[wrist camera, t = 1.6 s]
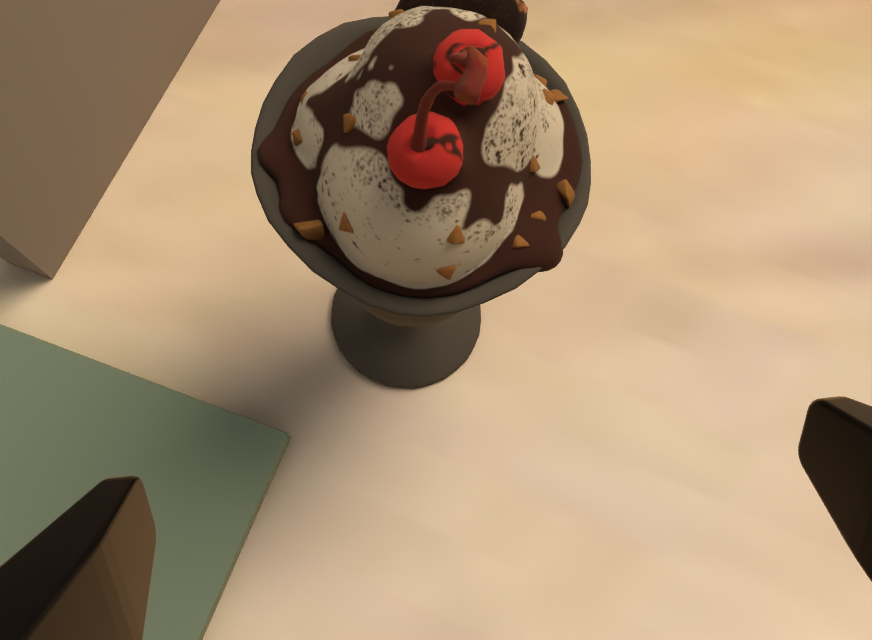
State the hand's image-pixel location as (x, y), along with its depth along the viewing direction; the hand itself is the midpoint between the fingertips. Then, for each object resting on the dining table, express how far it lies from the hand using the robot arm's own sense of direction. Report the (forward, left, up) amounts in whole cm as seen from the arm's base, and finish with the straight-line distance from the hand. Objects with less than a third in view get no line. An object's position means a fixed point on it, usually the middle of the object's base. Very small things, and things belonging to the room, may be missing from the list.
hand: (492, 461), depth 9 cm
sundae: (+6, +3, -13) cm, 14 cm away
